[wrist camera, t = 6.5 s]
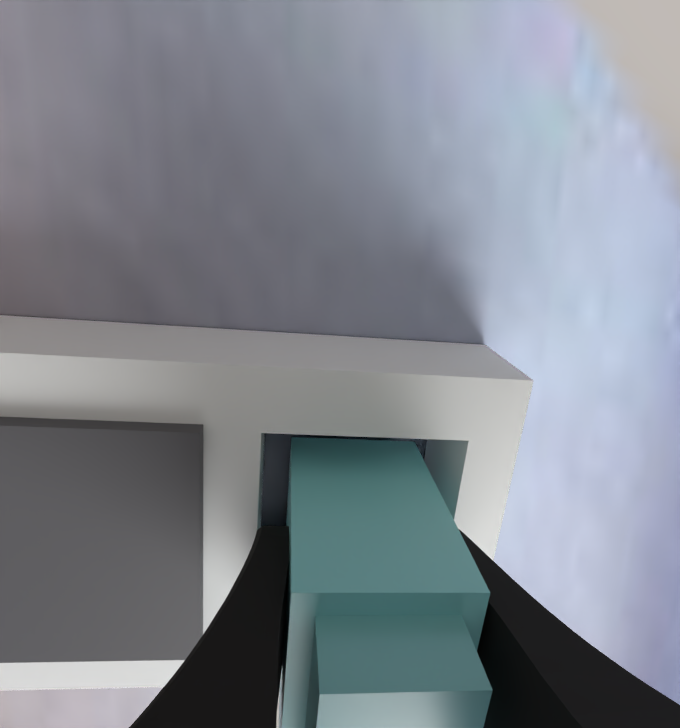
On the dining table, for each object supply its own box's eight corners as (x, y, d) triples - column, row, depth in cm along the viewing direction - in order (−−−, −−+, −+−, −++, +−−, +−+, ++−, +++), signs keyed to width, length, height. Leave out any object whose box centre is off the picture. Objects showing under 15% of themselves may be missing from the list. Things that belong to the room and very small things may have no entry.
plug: (282, 580, 14) (274, 884, 8) (291, 436, 12) (291, 668, 6) (393, 580, 14) (470, 870, 8) (414, 441, 13) (526, 665, 7)
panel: (10, 601, 14) (-64, 708, 11) (-33, 313, 12) (-144, 352, 9) (437, 600, 16) (471, 694, 13) (485, 344, 13) (542, 387, 10)
